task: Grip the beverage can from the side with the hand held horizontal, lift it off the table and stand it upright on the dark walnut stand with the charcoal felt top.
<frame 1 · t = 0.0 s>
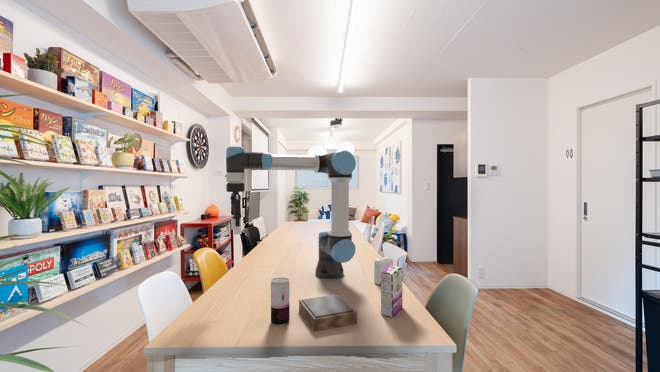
hand: (235, 231, 136), 28 cm above the table, tool pointing down, fingers open, 13 cm apart
beverage can: (280, 322, 112), on the table
walnut stand: (326, 316, 116), on the table
photo printer: (383, 282, 154), on the table
candy bar box: (391, 311, 121), on the table
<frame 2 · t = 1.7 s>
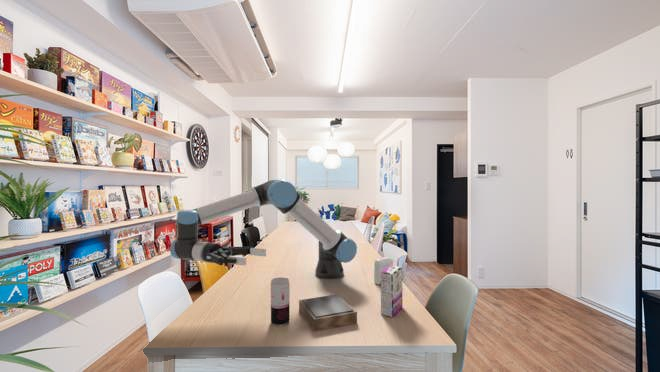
hand: (256, 256, 114), 23 cm above the table, tool horizontal, fingers open, 13 cm apart
nothing on the table moved.
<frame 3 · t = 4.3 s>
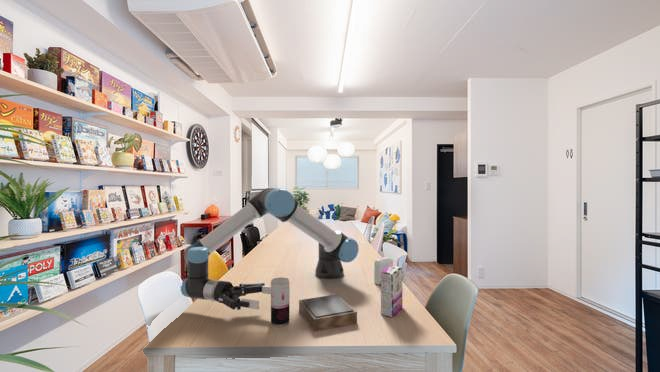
hand: (268, 297, 112), 8 cm above the table, tool horizontal, fingers open, 13 cm apart
nothing on the table moved.
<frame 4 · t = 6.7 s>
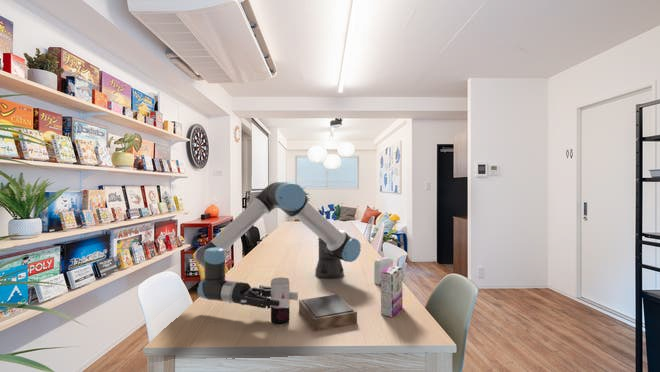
hand: (293, 299, 110), 9 cm above the table, tool horizontal, fingers closed on beverage can, 6 cm apart
beverage can: (280, 322, 112), on the table, touching gripper
everything else where it was.
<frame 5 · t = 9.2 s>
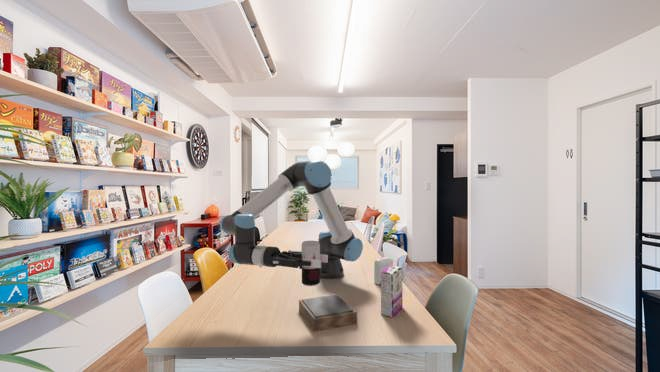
hand: (323, 261, 112), 22 cm above the table, tool horizontal, fingers closed on beverage can, 6 cm apart
beverage can: (310, 283, 114), point 13 cm above the table, touching gripper
everything else where it was.
when the fingers open (14 cm above the table, at t = 11.8 s): beverage can drops 1 cm, resting on walnut stand.
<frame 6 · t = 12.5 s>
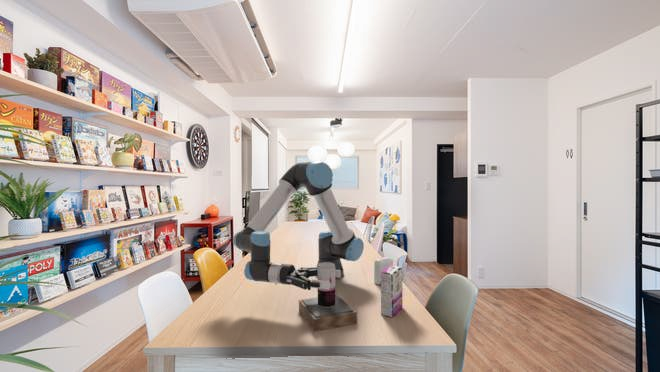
hand: (335, 279, 115), 14 cm above the table, tool horizontal, fingers open, 13 cm apart
beverage can: (326, 305, 116), point 4 cm above the table, touching walnut stand
everything else where it was.
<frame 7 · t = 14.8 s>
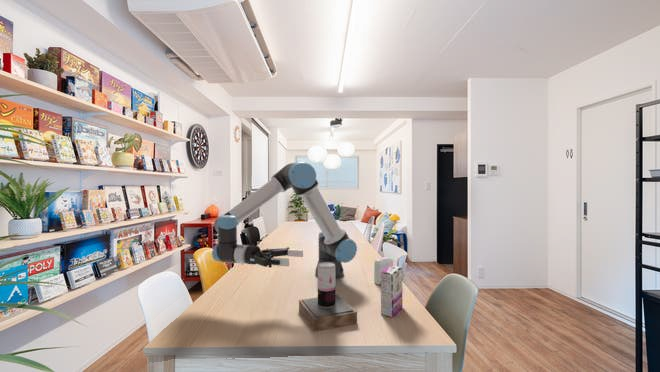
hand: (296, 257, 122), 20 cm above the table, tool horizontal, fingers open, 13 cm apart
nothing on the table moved.
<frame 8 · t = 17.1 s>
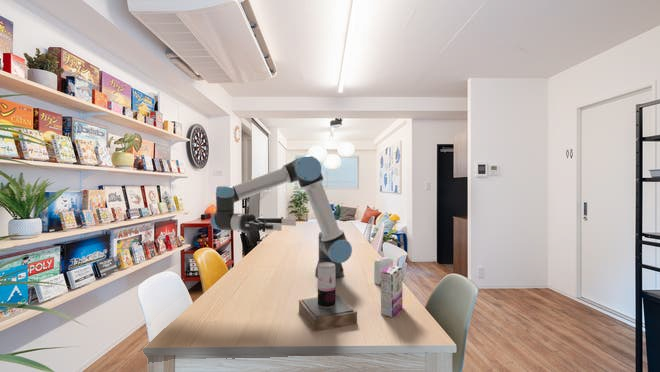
hand: (288, 224, 129), 32 cm above the table, tool horizontal, fingers open, 13 cm apart
nothing on the table moved.
at the end: beverage can inside the target area on the walnut stand (0.0 cm from its centre), point 4.2 cm above the walnut stand's base; beverage can tilted 0°; the gripper is holding nothing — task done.
